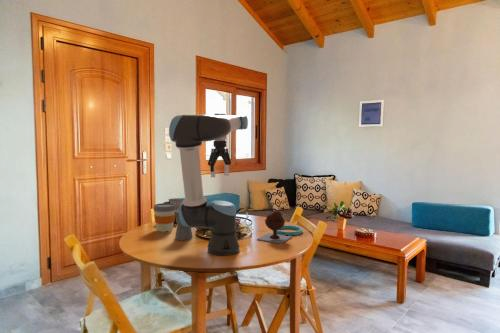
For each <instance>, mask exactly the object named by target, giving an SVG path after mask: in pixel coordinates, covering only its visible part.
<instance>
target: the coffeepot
mask: <svg viewBox="0 0 500 333" xmlns="http://www.w3.org/2000/svg"><path fill="white" fill-rule="evenodd" d="M174 214H175V216H176V222H177V225H176V231H175V238H174V239H175V240H176V239H177V240H176V241H179V240H186V241H191V240H192V239H193V231H192V228H191V227H186V226H184V225H182V223H181V222H180V219H179V210H176V211H175V213H174Z"/></svg>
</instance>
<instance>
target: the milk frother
mask: <svg viewBox="0 0 500 333" xmlns="http://www.w3.org/2000/svg"><path fill="white" fill-rule="evenodd" d="M183 200H184V198H179V197H177V198H173V197H172V198H168V201H164V202H163V203H172V204H175V207H176V210H179V207H180V205H181V204H182V201H183ZM176 210H175V211H176ZM173 225H175V226H178V224H177V222H176V216H175V221H174V223H173Z"/></svg>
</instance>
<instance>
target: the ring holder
mask: <svg viewBox="0 0 500 333" xmlns="http://www.w3.org/2000/svg"><path fill="white" fill-rule="evenodd" d="M284 230H293V231H284ZM276 233H277V234H279V235H285V236H286V235H288V236H292V237H293V235H294V236H298V235H301V234H302V233H303V229H302V227H301V226H297V225H292V224H291V225H290V224H284V226H283V227H282V228H281V229H279V230H277V231H276Z"/></svg>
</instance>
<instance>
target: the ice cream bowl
mask: <svg viewBox="0 0 500 333" xmlns="http://www.w3.org/2000/svg"><path fill="white" fill-rule="evenodd" d="M265 217H266V218H265V220H264V223H265V225H266V227H267V228H268V229H269V230H271V231H272V234H273V235H271V236H270V238H271V239H279V238H280V237H279V236H278V235H276V231H277V230H279V231H280V230H282V229H281V228H282V227H283V226H284V225H285V223H286V220H285V218H284V217H283V214H282V212H281V211H280V210H279V209H278V210H273V212H270V213H268V214H267V216H265Z"/></svg>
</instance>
